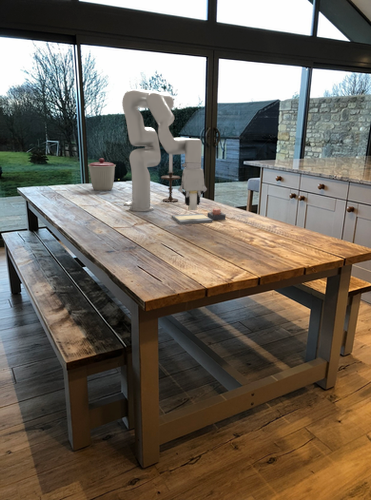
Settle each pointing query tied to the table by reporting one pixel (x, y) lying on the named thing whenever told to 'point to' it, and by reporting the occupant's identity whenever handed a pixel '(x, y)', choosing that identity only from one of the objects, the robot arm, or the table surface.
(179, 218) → the board
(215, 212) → the button
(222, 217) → the button housing
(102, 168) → the canister
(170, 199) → the candlestick
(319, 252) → the table surface
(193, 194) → the marker
